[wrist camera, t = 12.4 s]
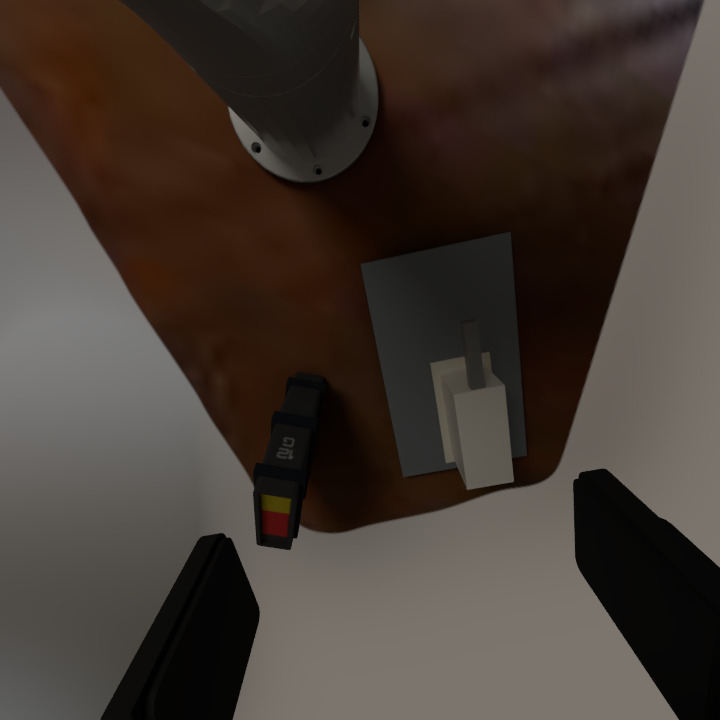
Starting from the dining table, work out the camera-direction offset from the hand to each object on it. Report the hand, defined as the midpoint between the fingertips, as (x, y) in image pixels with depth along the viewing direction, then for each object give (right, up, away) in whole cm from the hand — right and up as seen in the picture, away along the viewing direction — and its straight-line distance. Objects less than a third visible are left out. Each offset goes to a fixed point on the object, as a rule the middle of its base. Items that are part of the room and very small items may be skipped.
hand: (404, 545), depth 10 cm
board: (+8, +5, +28) cm, 30 cm away
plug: (+9, +2, +27) cm, 29 cm away
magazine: (-8, -2, +31) cm, 32 cm away
